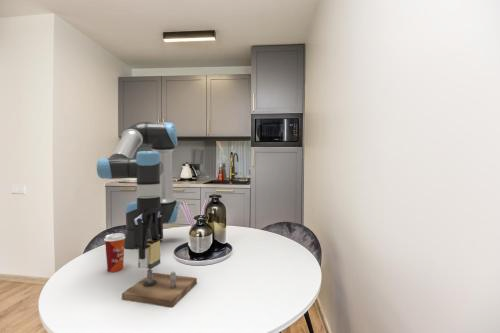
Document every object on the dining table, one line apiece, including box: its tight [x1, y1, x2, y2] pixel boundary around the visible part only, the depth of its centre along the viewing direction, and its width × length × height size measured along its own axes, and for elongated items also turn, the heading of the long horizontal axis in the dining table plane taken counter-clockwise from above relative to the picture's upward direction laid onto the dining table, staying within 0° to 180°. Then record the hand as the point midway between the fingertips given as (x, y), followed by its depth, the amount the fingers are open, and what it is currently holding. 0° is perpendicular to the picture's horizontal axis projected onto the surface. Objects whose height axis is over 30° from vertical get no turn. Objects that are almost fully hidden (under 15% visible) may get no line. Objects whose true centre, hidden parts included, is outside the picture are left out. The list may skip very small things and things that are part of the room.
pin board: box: [121, 268, 198, 308], centre depth 88 cm, size 16×18×7 cm
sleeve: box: [137, 240, 161, 270], centre depth 89 cm, size 5×5×8 cm
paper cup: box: [103, 232, 125, 273], centre depth 107 cm, size 8×8×14 cm
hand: (149, 264), depth 89 cm, fingers closed on sleeve, 5 cm apart
